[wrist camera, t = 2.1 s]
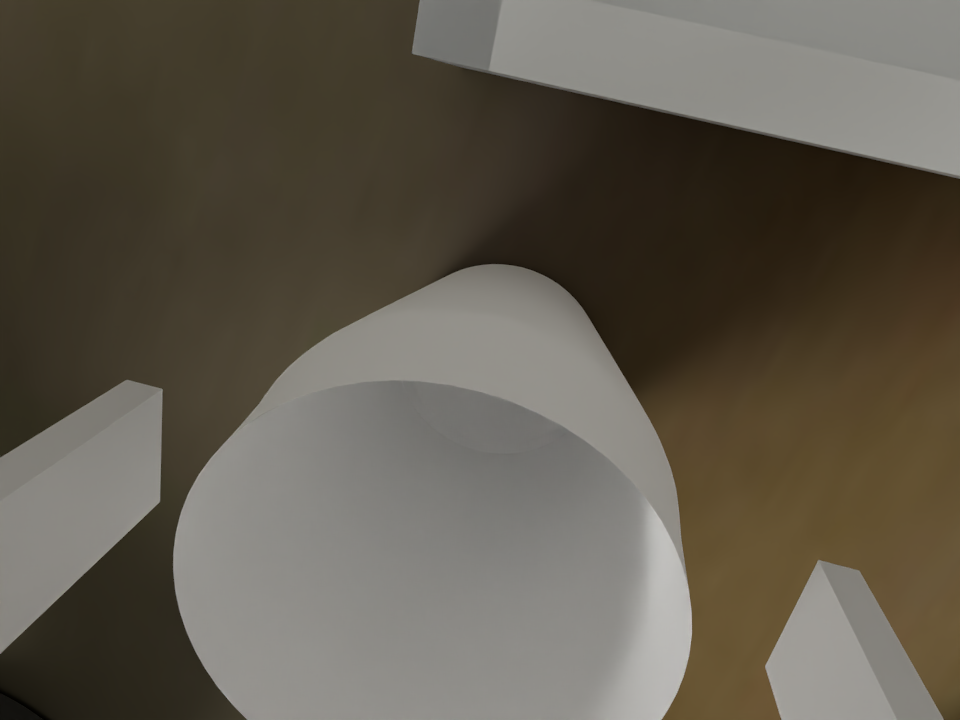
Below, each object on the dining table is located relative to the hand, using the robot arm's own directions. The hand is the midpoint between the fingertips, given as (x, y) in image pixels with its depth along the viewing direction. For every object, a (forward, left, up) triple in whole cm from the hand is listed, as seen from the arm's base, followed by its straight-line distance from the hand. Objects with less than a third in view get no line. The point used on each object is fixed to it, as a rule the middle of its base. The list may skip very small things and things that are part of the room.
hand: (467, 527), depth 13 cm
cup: (0, 0, -10) cm, 10 cm away
